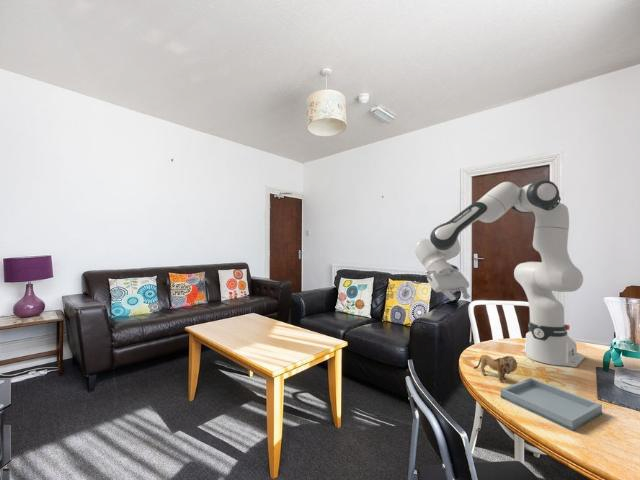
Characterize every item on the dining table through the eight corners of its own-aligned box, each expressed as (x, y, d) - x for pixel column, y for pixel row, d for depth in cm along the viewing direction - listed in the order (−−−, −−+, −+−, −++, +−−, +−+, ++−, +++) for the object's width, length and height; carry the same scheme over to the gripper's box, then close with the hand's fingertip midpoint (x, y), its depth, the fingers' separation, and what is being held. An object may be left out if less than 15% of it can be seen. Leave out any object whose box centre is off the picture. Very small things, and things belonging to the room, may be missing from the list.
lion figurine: (520, 383, 98) (520, 356, 98) (513, 387, 95) (512, 360, 95) (477, 367, 110) (476, 344, 110) (469, 371, 107) (469, 347, 107)
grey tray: (530, 385, 96) (530, 378, 96) (602, 413, 80) (601, 404, 80) (500, 397, 89) (500, 389, 89) (572, 431, 73) (572, 421, 73)
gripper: (428, 266, 115) (450, 295, 107) (459, 266, 126) (481, 293, 118) (419, 276, 119) (438, 305, 111) (449, 275, 130) (469, 301, 121)
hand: (460, 298), depth 114 cm, fingers open, 8 cm apart
